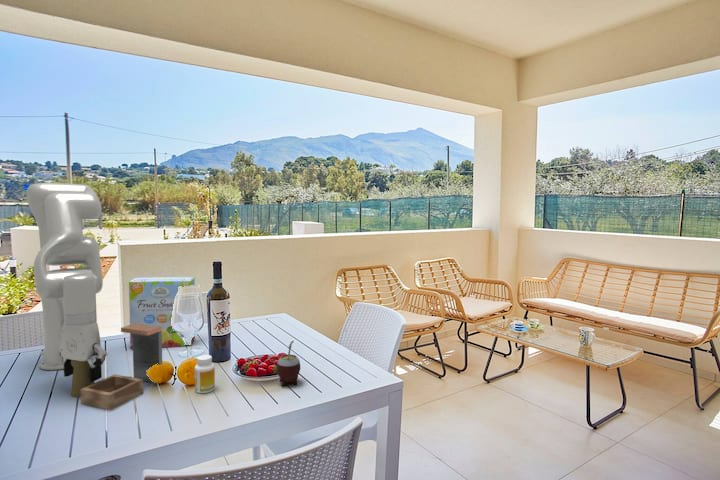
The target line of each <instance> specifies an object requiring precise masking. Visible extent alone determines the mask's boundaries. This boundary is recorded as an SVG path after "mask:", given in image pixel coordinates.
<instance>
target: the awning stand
mask: <svg viewBox="0 0 720 480" xmlns="http://www.w3.org/2000/svg"><path fill="white" fill-rule="evenodd" d="M120 332H121V333H127V334H128V333H129V334H130V333H132V337H133V349H132V363H133V364H132V366H133V368H132V369H133V378H138V379H143V382H147V383H153V384H155V383H154V382H152V381H151V380H150V379H149V377H148V376H147V375H146V370H148V369H149V368H150V367H152V366H153V365H155V364H157V363H158V364H159V365H161V364H162V365H163V347H162V327H160V326H153V325H146V324H138V323H134V324H131V325H130V324H129V325H126V326H122V327H120ZM158 364H157V365H158Z"/></svg>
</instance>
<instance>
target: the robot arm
mask: <svg viewBox="0 0 720 480" xmlns="http://www.w3.org/2000/svg"><path fill="white" fill-rule="evenodd" d="M26 199H27V204H28V206H29V209H30V212H31V213H32V216H33V217H34V219H35V221H36V223H37V227H38V236H39V247H40V248H39V251H38V252H37V254H36V255H35V258H34V261H33V276H34V277H33V278H34V285H35V290H36V293H37V295H38V296H39V298H40V300H41V305H42V306H41V307H42V319H43V341H44V350H41V351H40V353H39V354H40V355H41V356H43V360H42V361H40V362H39V368H40V369H41V370H44V371H58V370H63V376H64V378H65V377H70V376H73V370H74V367H73V366H72V365H71V360H76V361H82V362H84V361H88V363H89V364H90V366H91V368H89V378H90V382H93V381H96V382H97V380H101V379H102V378H103V376H102V375H103V374H102V365H104V362H105V361H106V358H107V354H108V352H107V350H105V349H104V348H103V347H101V346H102V345H101V336H100V330H99V329H100V328H99V325H98V322H97V321H98V320H97V319H98V318H97V295H96V294H98V293H100V292H101V291H102V289H103V286H104V285H103V284H104V281H103V273H102V264H101V263H102V262H101V254H100V253H101V252H100V247H99V245H98V241H97V240H96V239H95V238H94V237H92V236H85V235H84V232H83V226H82V220H96V219H98V218H99V217H100V216H101V213H102V203H101V200H100V198H99V196H98V195H97V193H96V192H95V190H93V189H92V187H91V186H90V185H87V184H81V183H79V184H78V183H63V182H38V183H34V184H31V185H29V186H28V187H27V189H26ZM70 265H71V266H72V265H73V266H74V265H82V267H77V268H76V267H75V268H60V269H59V268H57V269H52V270H47V266H52V267H53V266H54V267H55V266H70ZM92 359H93V360H92ZM94 360H95V361H94Z"/></svg>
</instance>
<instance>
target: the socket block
mask: <svg viewBox="0 0 720 480" xmlns="http://www.w3.org/2000/svg"><path fill="white" fill-rule="evenodd" d="M80 394H81V397H80V404H81V405H84V406H88V407H93V408H98V409H103V410H108V411H112V410H114V409H116V408H118V407H120V406H122V405H123V404H125V403H127V402H129V401H131V400H134V399H135V398H137V397H138V396H140V395H143V394H144V381H143V379H138V378H134V377H131V376H127V375H122V374H121V375H120V374H117V373H115V374H112V375H110V376H107V377H106V378H103V379H100V380H99V381H96V382H95V383H94V384H91V385H89V386H87V387H84V388H82V389H80Z"/></svg>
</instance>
